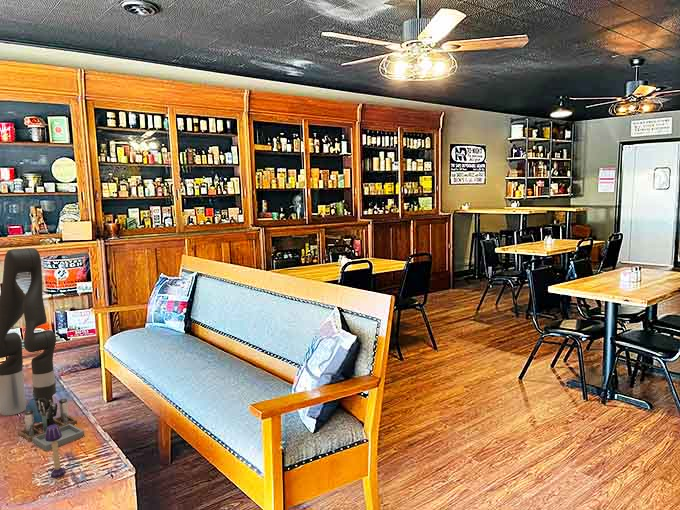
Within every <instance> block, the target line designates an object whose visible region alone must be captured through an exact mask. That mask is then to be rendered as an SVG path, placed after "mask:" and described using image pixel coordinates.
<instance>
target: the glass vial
mask: <svg viewBox="0 0 680 510" xmlns="http://www.w3.org/2000/svg"><path fill="white" fill-rule="evenodd" d="M23 414H24V415H23V416H24V422H25V423H24V424H25V429H26V435H27V436H29V437H31V436H34V435H36V433H35V422H34V416H33V410H27V411H26V410H25V411H23Z"/></svg>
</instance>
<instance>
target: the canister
mask: <svg viewBox="0 0 680 510" xmlns="http://www.w3.org/2000/svg"><path fill="white" fill-rule="evenodd" d="M58 403H59V404H58V405H59V417H61V421H60V422H62V423H64V424H66V423H69V422H70V421H69V417H70V416H69V408H68V407H69V406H68V399H67V398H61V399H60V398H59V400H58Z"/></svg>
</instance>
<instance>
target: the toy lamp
mask: <svg viewBox="0 0 680 510" xmlns="http://www.w3.org/2000/svg"><path fill="white" fill-rule="evenodd" d="M61 437H62V434H61V432H60V429H59V427H58V425H56V424H54V425H50V426H48V428H47V431H46V437H45V440H46V441H48V442H51V443H52V450H51V451H52V456H53V457H52V458H53V465H54V469H52V471H51V473H50V477H51V478H53V479H54V478H55V479H57V478H61V477H63V476H64V475H66V473H67V471H66V469H65V468H64V467H62V466H61V460H60V452H59V447H58V443H57V440H58V439H60V438H61Z"/></svg>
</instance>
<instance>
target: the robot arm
mask: <svg viewBox="0 0 680 510" xmlns="http://www.w3.org/2000/svg"><path fill="white" fill-rule="evenodd" d="M4 256H5V257H4V262H3V273H2V281H1V282H2V283H1V289H0V359H3V358H6V359H5V361H2V362H1V363H0V415H1V416H5V417H6V416H13V415H18V414H21V413H24V412H25V411H26V406H27V401H26V392H25V381H24V371H23V365H24V364H23V363H24V359H23V346H24V349H25V351H27V353H28V352H29V353H35V352H41V351H43V352H41V354H39V355H37V356H34V357H33V358H32V359H31V360H30V361H31V371H32V372H31V374H32V375H31V380H32V394H33V393H34V397H36V398H35V402H36V406H37V410H38V413H40V415H41V417H42V412H43V411H44V413H45V414H46V418H47V419H46V420H47V427H48V426H50V425H55V424H54V420H53V419H54V418H57V413H58V402H57V403H56V402H55V400H54V398H53V397H54V395H55V394H56V393H57V386H56V384H57V383H56V375H55V374H56V373H55V370H54V354H55V353H54V352H55V349H56V343H57V334H56V333H55V332H54V331H53V330H51V329H50V330H49V329H46V330H42V331H37V332H35V330H36V328H38V327H40V326H43V325H44V324H46V323H47V322H48V321H47V319H48V318H47V314H46V308H45V305H44V304H45V303H44V294H43V273H42V272H43V271H42V269H43V268H42V259H41V254H40V252H39V251H38V250H37V248H33V247H27V248H26V247H25V248H12V249H9V250H7V251H6V253H5V255H4ZM22 273H24V274H25V273H30V283H29V286H28V290H27V291H26V294H25V292H24V290H23V289H22V288H21V286H20V285H19V284H18V283H17V276H18V274H22ZM22 316H23V317H24V325H25V328H24V330H25V331H24V337H23V342H22V337H21V336H20V334H18V332H14V331H13V332H10V330H11V329H12V328H13V327H14V326H15V325H16V324H17V323H18V321H20V319H21V318H22ZM34 397H33V398H34ZM54 402H55V403H54ZM48 409H49V410H48ZM48 412H49V414H48Z"/></svg>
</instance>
